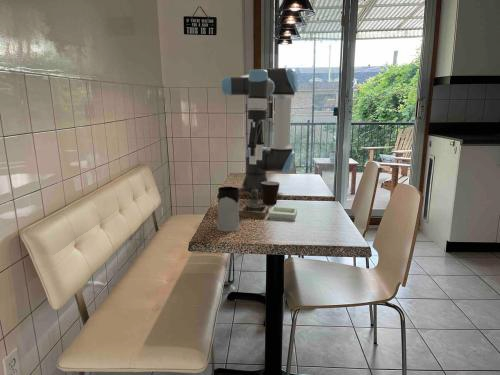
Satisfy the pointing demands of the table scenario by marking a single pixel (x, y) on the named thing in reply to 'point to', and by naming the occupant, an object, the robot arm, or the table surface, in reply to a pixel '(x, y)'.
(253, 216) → the walnut holder
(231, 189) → the white and black cylinder
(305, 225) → the table surface
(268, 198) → the coffee mug
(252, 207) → the marbled chess piece
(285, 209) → the sage tray
